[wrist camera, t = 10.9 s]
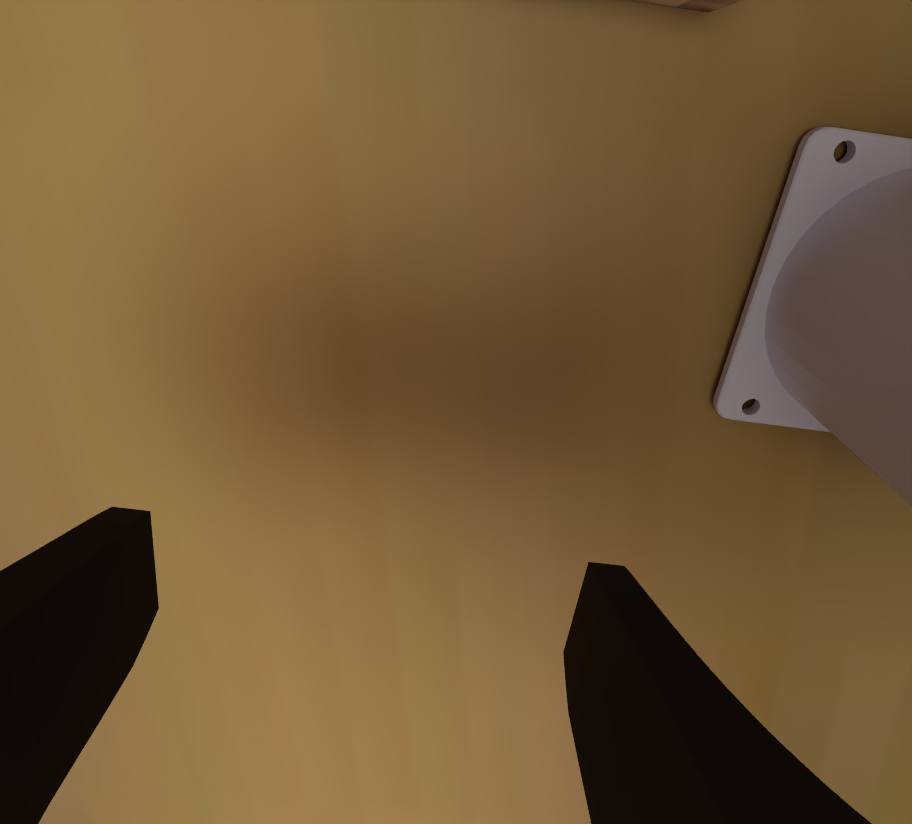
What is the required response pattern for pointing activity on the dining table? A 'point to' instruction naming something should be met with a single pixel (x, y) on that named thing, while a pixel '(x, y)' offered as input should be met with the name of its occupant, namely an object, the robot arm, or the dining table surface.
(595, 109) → the dining table surface
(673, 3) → the big crate
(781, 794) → the robot arm
